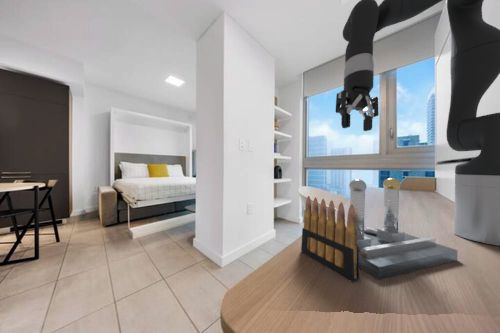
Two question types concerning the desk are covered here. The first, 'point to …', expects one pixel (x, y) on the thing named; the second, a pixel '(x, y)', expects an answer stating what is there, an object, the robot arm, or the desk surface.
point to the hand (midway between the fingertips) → (357, 129)
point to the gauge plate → (402, 255)
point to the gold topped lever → (390, 213)
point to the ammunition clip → (331, 238)
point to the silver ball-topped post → (359, 211)
